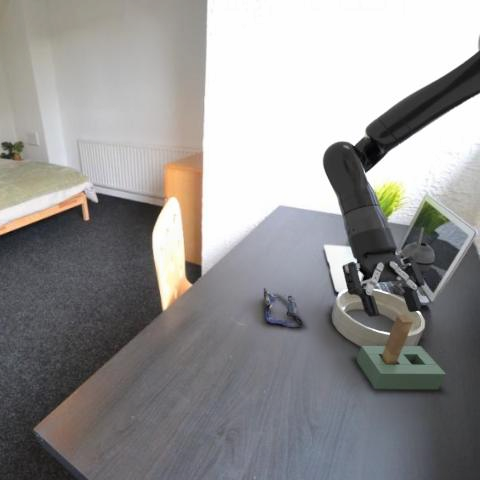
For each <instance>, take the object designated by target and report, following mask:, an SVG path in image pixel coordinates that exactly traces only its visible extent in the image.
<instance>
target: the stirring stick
mask: <svg viewBox="0 0 480 480" xmlns="http://www.w3.org/2000/svg"><path fill="white" fill-rule="evenodd" d="M393 322H394V321H393ZM412 324H413V321H412V320H411V319H410V318H409V317H408V316H397V317H396V320H395V322H394V323H393V324H392V329H391V330H390V332H389V333H390V336H389V338H388V341H387V343H386V346H385V349H384V351H383V354H382V357H381V358H382V360H383V361H384V362H385V364H386V365H396V363H397V360H398V358H399V355H400V353H401V351H402V348H403V346H404V343H405V341H406V338H407V336H408V333H409V331H410V329H411V326H412Z"/></svg>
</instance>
